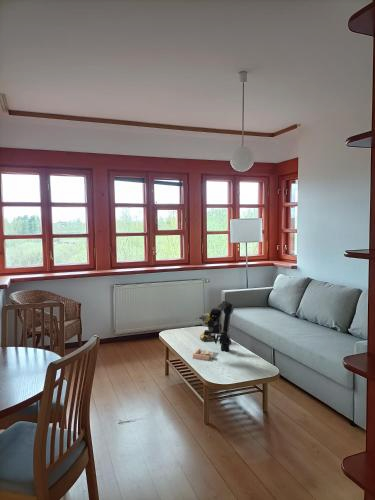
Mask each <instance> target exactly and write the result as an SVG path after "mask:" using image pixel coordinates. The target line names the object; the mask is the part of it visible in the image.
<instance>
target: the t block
mask: <svg viewBox="0 0 375 500" xmlns="http://www.w3.org/2000/svg"><path fill="white" fill-rule="evenodd" d="M208 351H209V350H206V349H205V350H202V352H201V353H200V355H206V356H209V359H212V358H213V353H212V352H213V351H209V352H208Z"/></svg>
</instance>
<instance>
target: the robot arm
mask: <svg viewBox="0 0 375 500" xmlns="http://www.w3.org/2000/svg"><path fill="white" fill-rule="evenodd" d="M234 309H235V308H234V305H233V304H232V303H230V301H227V300H226V301H225V300H223V301H222V302H221V303H220V304H219V305H218V306H216V307H213V308H211V311H210V313H211V314H210V317H209V318H210V320H209V321H208V323H207V324H208V325H207V327H208V326H209V327H210V328H212V329H213V331H212V332H211V331H210V330H209V329H205V330H204V331H203V333H204V335H209V334H211V337H213V339H214V340H213V342H214V344H215V345H217V343H218V340H219V345H220V351H221V352H223V353H224V352H226V353H227V352H230V350H231V349H230V348H231V347H230V346H231V345H232V339H231V336H230V332H229V331H230V330H229V329H230V323H231V316H232V315H233V312H234ZM222 312H223V313H224V317H223V318H224V319H223V327H222V332H221V325H220V324H221V316H222V314H223V313H222Z"/></svg>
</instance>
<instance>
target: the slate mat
mask: <svg viewBox="0 0 375 500" xmlns="http://www.w3.org/2000/svg"><path fill="white" fill-rule="evenodd" d="M202 351H203V350H201V349H200V353H201V352H202ZM207 351H208V352H210V351H209V350H207ZM211 352H212V353H213V358H212V359H209V360H206V362H207V361H208V362H213V361H214V360H215V358H216V357H218V355H219V354H220V352H215V351H214V352H213V351H211ZM200 353H199V355H200ZM194 359H195V360H197V359H196V358H193V360H194ZM199 360H200V361H201V360H202V359H199Z"/></svg>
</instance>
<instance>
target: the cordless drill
mask: <svg viewBox="0 0 375 500" xmlns="http://www.w3.org/2000/svg"><path fill="white" fill-rule="evenodd" d="M210 314H211V312H207V313H203V314H201V315H200V316H199V317H196V318H195V319H196V320H197V319H199V320H201V321H202V322H203V323H204V325H205V326H207V330H210V331H211V332H212V331H213V329H212V328H210V327H209V326H208V324H207V323H208V321H209V320H210V318H209V317H210ZM199 338H200V340H201V341H203V342H210V341H214V339H213V337H211V334H209V335H204V332H203V333H201V334H200V336H199Z"/></svg>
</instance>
